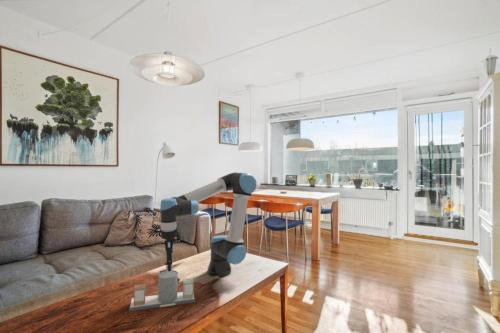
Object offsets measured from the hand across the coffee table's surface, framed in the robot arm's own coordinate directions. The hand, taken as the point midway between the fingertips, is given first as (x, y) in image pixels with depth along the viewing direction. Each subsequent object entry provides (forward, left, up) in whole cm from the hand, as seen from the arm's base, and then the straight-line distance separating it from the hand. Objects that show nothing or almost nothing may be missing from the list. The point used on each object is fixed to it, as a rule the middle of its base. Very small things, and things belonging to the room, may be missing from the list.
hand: (169, 271), depth 132 cm
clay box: (+14, +1, -14) cm, 19 cm away
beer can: (0, 0, -14) cm, 14 cm away
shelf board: (+3, +1, -15) cm, 15 cm away
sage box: (-9, +1, -14) cm, 17 cm away
